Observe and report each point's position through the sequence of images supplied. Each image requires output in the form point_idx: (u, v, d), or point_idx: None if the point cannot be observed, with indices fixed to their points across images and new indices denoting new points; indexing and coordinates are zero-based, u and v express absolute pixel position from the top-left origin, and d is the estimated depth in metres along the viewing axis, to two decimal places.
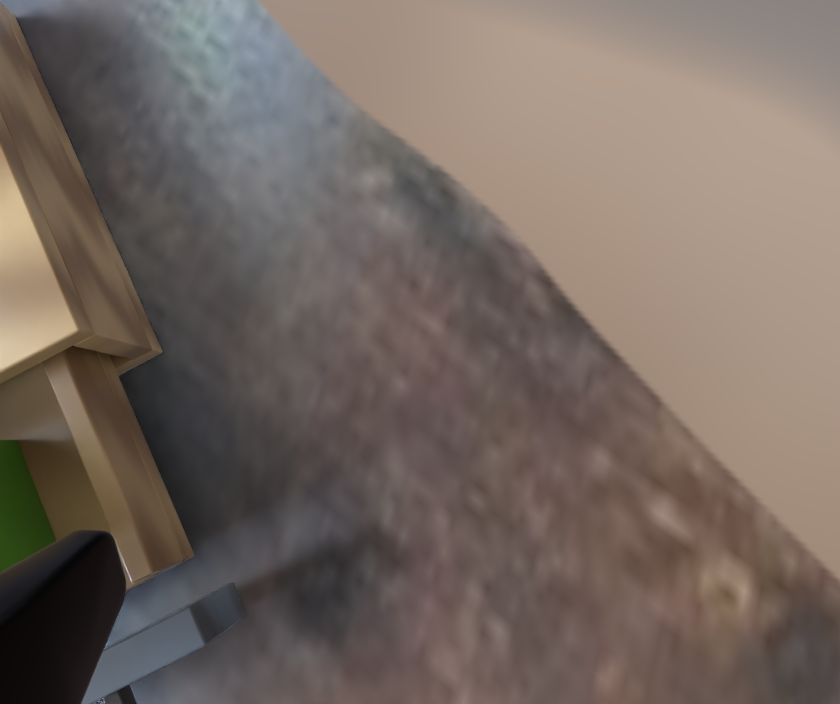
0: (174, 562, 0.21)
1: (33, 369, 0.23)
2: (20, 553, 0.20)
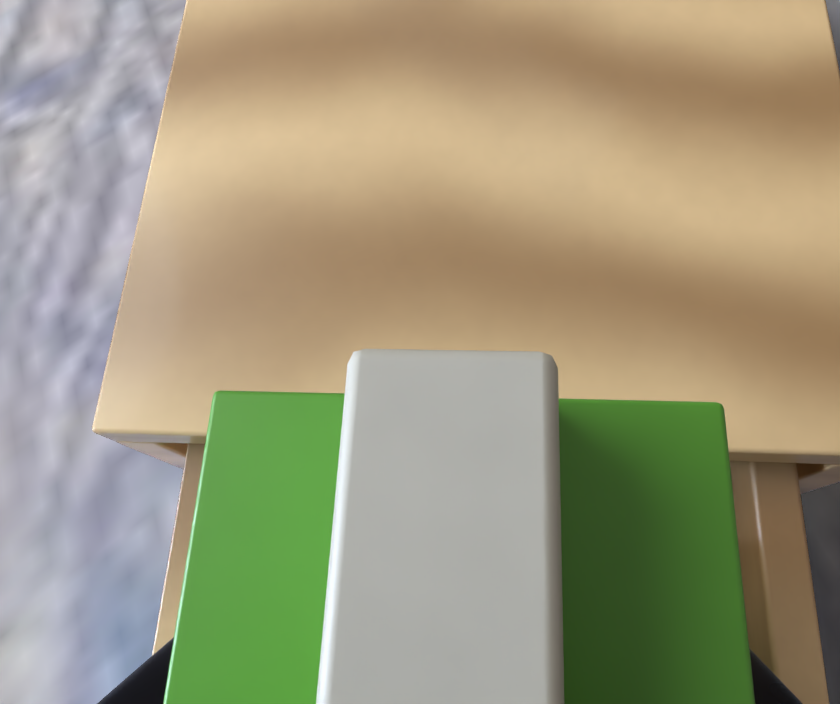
0: None
1: None
2: None
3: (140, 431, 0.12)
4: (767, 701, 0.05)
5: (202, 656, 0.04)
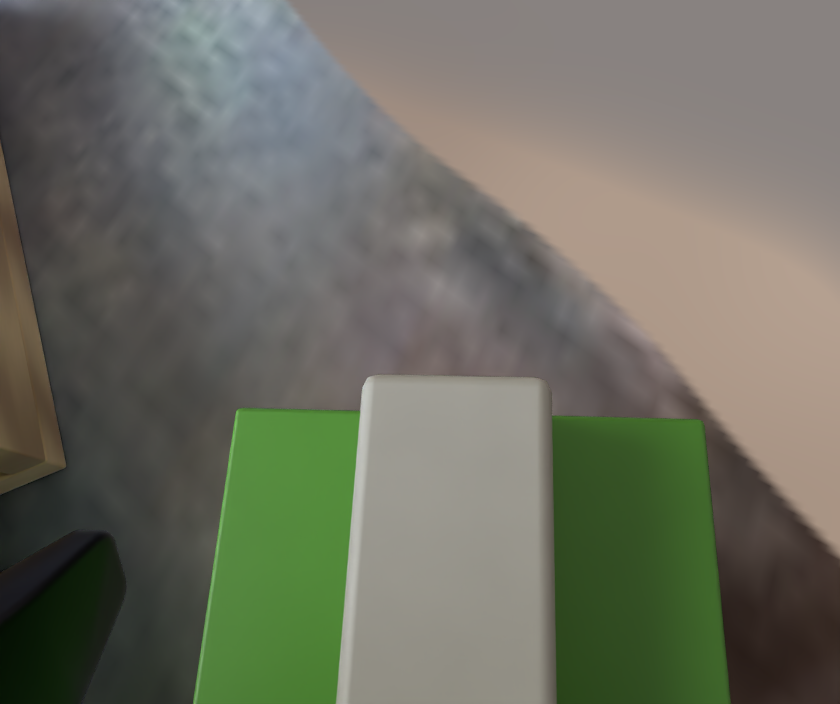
0: None
1: None
2: None
3: None
4: None
5: (229, 652, 0.05)
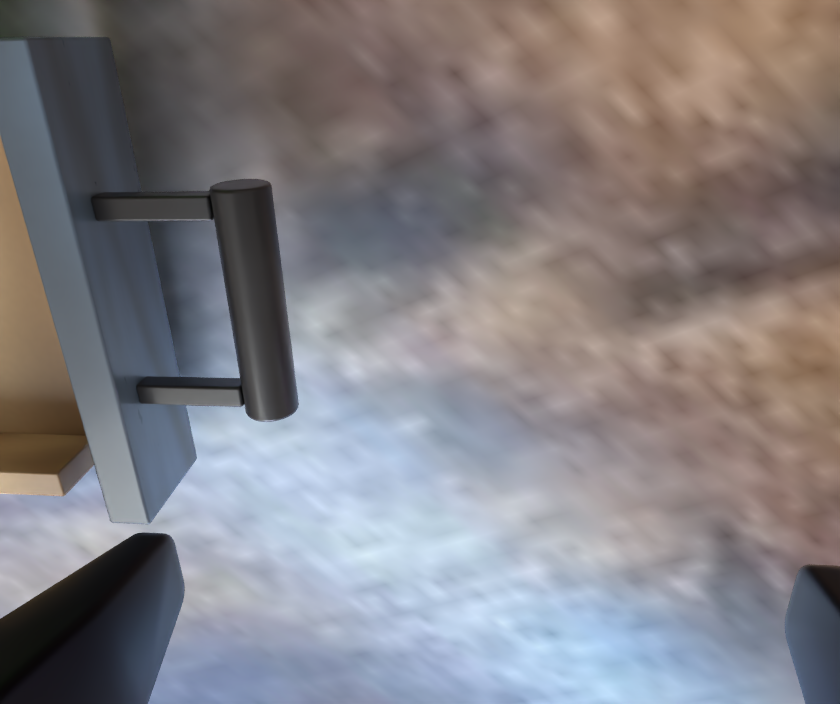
0: None
1: None
2: None
3: None
4: None
5: None
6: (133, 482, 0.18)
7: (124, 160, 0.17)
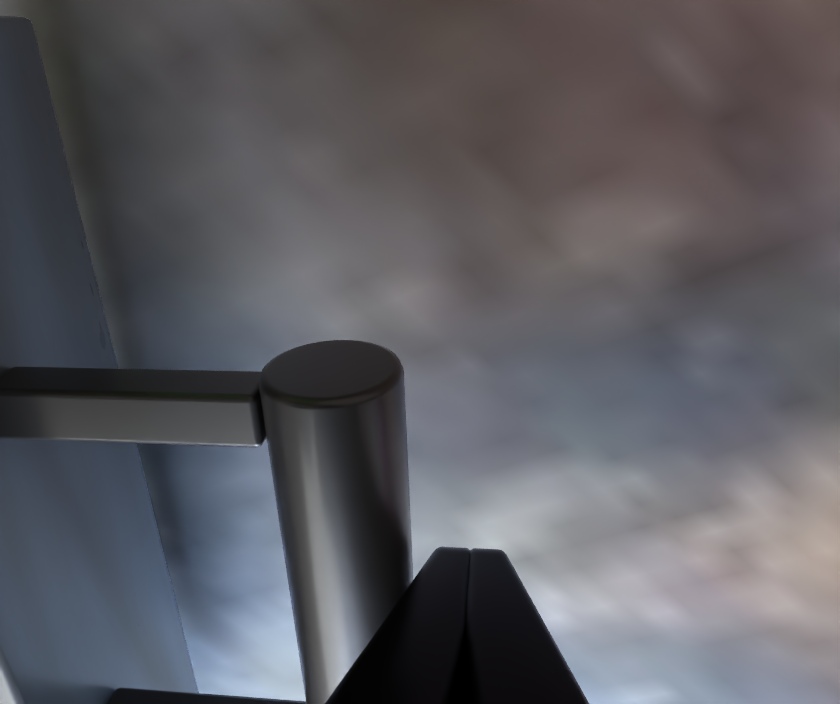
0: None
1: None
2: None
3: None
4: (544, 686, 0.05)
5: None
6: None
7: (68, 278, 0.08)
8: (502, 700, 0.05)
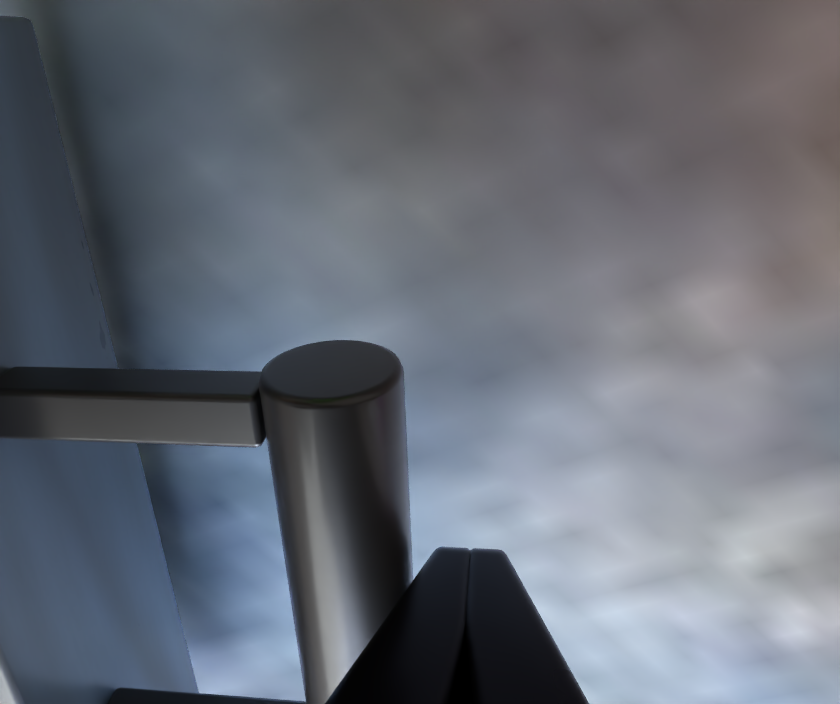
0: None
1: None
2: None
3: None
4: (544, 685, 0.05)
5: None
6: None
7: (68, 278, 0.08)
8: (502, 699, 0.05)
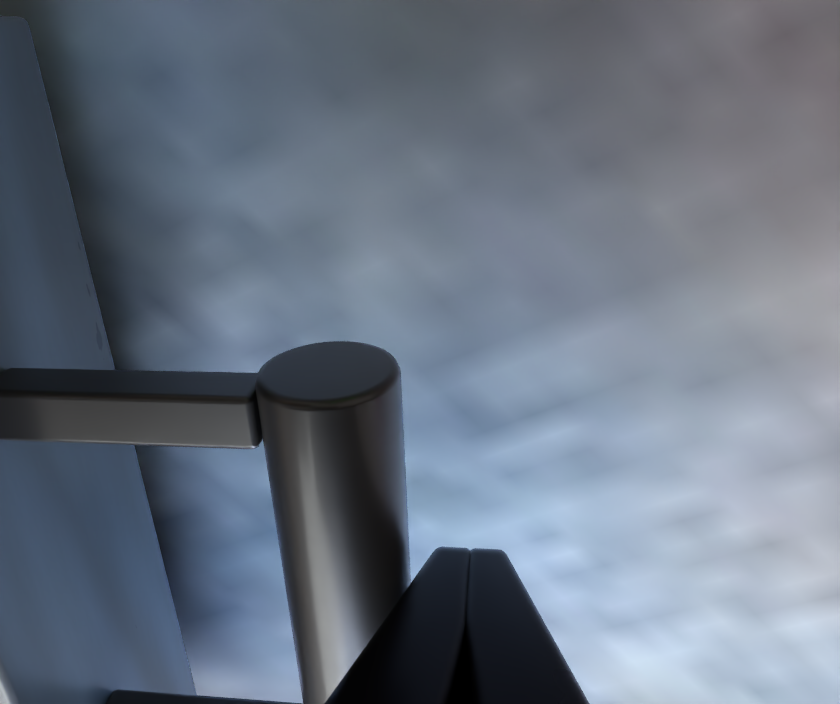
0: None
1: None
2: None
3: None
4: (544, 686, 0.05)
5: None
6: None
7: (65, 279, 0.08)
8: (503, 700, 0.05)
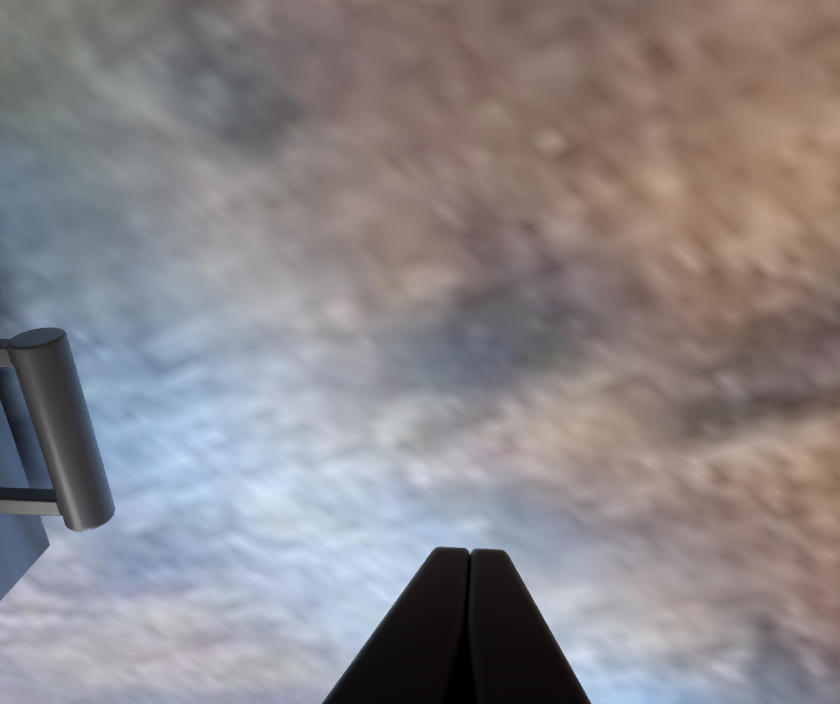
0: None
1: None
2: None
3: None
4: (546, 686, 0.05)
5: None
6: None
7: None
8: (505, 700, 0.05)
